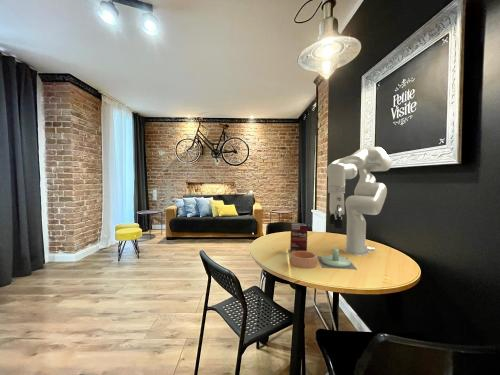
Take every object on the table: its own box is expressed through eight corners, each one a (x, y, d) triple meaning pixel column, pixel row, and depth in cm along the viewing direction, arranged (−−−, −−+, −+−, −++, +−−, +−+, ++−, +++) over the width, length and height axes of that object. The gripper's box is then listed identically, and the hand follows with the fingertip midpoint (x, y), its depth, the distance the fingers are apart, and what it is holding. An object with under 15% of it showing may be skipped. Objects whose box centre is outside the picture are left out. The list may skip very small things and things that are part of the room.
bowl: (314, 261, 114) (315, 251, 113) (319, 270, 102) (319, 259, 101) (290, 260, 115) (290, 250, 115) (291, 269, 103) (291, 258, 103)
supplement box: (290, 254, 123) (291, 225, 123) (290, 251, 128) (290, 223, 128) (307, 255, 122) (307, 225, 122) (306, 252, 127) (306, 223, 127)
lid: (345, 258, 115) (346, 246, 115) (354, 268, 102) (354, 254, 102) (318, 257, 117) (319, 245, 116) (323, 266, 104) (324, 253, 104)
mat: (347, 259, 116) (347, 257, 116) (357, 271, 101) (357, 269, 101) (316, 258, 118) (316, 256, 118) (322, 269, 103) (322, 267, 103)
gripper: (350, 190, 99) (349, 230, 100) (340, 189, 116) (339, 222, 117) (331, 190, 100) (331, 229, 101) (324, 188, 117) (324, 222, 118)
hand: (335, 225), depth 109 cm, fingers open, 9 cm apart
